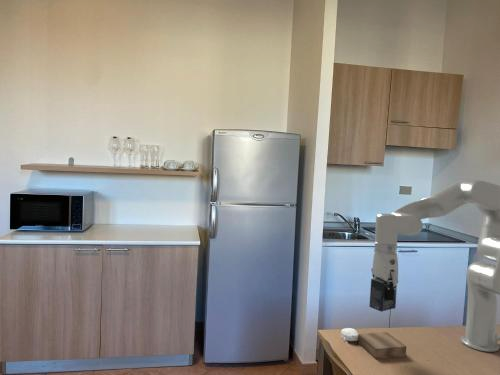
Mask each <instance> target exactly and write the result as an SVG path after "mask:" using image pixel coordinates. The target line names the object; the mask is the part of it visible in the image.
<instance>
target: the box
mask: <svg viewBox="0 0 500 375" xmlns="http://www.w3.org/2000/svg"><path fill="white" fill-rule="evenodd" d="M388 280H391V279H388ZM388 283H389V285H390V284H391V282H388ZM397 285H398V284H397ZM397 285H396V287H395V290H394V300H388V301H386V300H385V289H386V282H385V281H383V280H381V279H380V278H374V279H373V278H371V279H370V289H369V290H370V291H369V292H370V293H369V308H371V309H374V310H376V311H379V312H380V313H382V312H385V311H390V310H393V309H396V306H397V289H398V288H397V287H398V286H397Z"/></svg>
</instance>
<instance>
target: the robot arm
mask: <svg viewBox="0 0 500 375" xmlns="http://www.w3.org/2000/svg"><path fill="white" fill-rule="evenodd" d="M466 204H474V205H475V207H476V208H477V209H478V211H479V213H480V214H481V216H482V225H481V229H480V233H479V238H478V242H477V247H476V249H477V250H476V251H477V254H478V255H479V256H480V257H481V258H483V259H486V260H488V261H491V262H495V264H496V265H495V264H492V263H488V262H485V261H474V262H472V263H471V264H469V265H468V267H467V268H466V282H467V305H466V306H467V308H466V321H465V322H466V324H465V334H463V335H461V336H460V342H461V343H462V344H463V345H464V346H466V347H468V348H471V349H475V350H477V351H480V352H481V351H482V352H488V353H493V352H497V351H499V350H500V344H498V343H497V342H500V334H497V333H496V324H497V308H498V296H497V295H499V296H500V185H498V184H495V183H491V182H489V181H486V180H480V179H460V180H457V181H455V182H454V183H452V184H450V185H448V186H446V187H444V188H443V189H441V190H439V191H438V192H436V193H433V194H432V195H430V196H426V197H424V198H422V199H418V200H414V201H412V202H409V203H407V204H405V205H403V206H401V207H400V208H398V209H396V210H394V211H393V212H391V213H385V212H384V213H378V214H377V215H376V217H375V229H374V230H375V234H374V251H373V252H374V254H373V262H372V268H371V270H370V271H371V276H372V279H374V278H380V279H381V280H383V281H385V282H386V289H385V300H386V301H388V300H394V290H395V287H396V285H398V284H399V259H398V253H397V247H398V246H397V245H398V235H402V236H403V235H405V236H411V237H412V236H416V235H419V233H420V232H421V231H422V230H423V226H424V224H423V221H422V220H423V219H433V218H440V217H445V216H447V215H449V214H450V213H452V212H454V211H456V210H458V209H459V208H461V207H463V206H465V205H466ZM388 279H391V280H388ZM388 282H391V284H390V285H389V283H388Z"/></svg>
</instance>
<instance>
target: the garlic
mask: <svg viewBox="0 0 500 375" xmlns="http://www.w3.org/2000/svg"><path fill="white" fill-rule="evenodd" d="M358 334H360V333H359V332H358V331H357V329H354V328H352V327H345V328H342V329H341V331H340V336H341V338H342V339H343V341H344V342H345V343H346V344H348V343H349V342H358Z"/></svg>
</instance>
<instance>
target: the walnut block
mask: <svg viewBox="0 0 500 375" xmlns="http://www.w3.org/2000/svg"><path fill="white" fill-rule="evenodd" d="M357 345H359V346H360V347H361V348H362V349H363V350H364V351H366V352H367V353H368V354H369V355H370V356H371V357H373V359H374V360H377V359H380V360H381V359H394V358H402V357H407V346H406V345H405V344H403V343H402V342H401V341H400V340H398V339H397V338H395V337H394V336H393V335H391V334H390V333H389V332H385V331H383V332H370V333H367V332H366V333H359V334H358V341H357Z"/></svg>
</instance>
